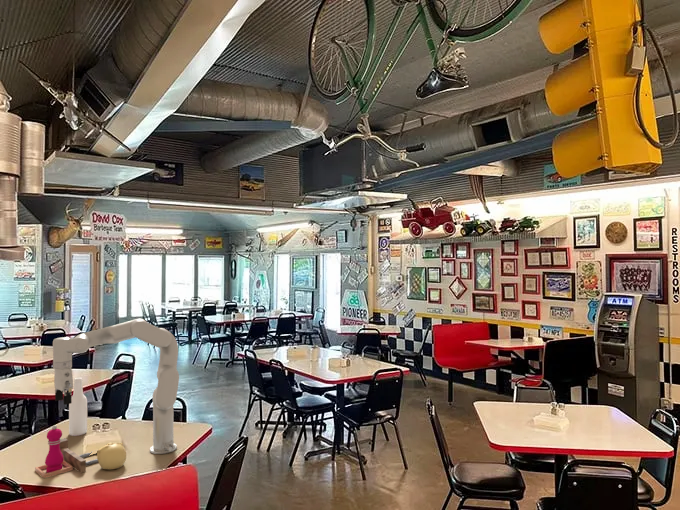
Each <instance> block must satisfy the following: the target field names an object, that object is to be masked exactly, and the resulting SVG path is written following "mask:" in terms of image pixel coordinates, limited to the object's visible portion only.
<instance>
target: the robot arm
mask: <svg viewBox="0 0 680 510" xmlns="http://www.w3.org/2000/svg"><path fill="white" fill-rule="evenodd" d="M134 338H136V339H138V340H139V341H140V340H141V341H142V342H144V343H147V344H149V345H151V346H153V347H155V348H159V359H158V360H159V361H158V367H157V372H156V378H157V386H156V388H154V390H153V393H152V414H153V415H152V435H153V436H152V437H153V438H152V446H150V448H149V453H151V454H153V455H154V454H155V455H164V454H168V453H169V454H170V453H171V452H174V451H176V450H177V448H178V446H177V444H176V443H175V441H174V417H175V415H174V405H175V403H176V400H177V395H178V390H179V383H180V382H179V381H180V374H179V371H178V370H177V369H178V368H177V367H178V357H179V345H178V342H177V339H176V337H175V336H174V334H172V332H171V331H169V330H168V329H166V328H164V327H157V326H155V325H153V324H151V323H150V322H148V321H147V320H145V319H143V318H135V319H132V320H129V321H124V322H121V323H117V324H114V325H110V326H105V327H103V328H99V329H94V330H91V331H87V332H83V333H80V334H78V335H77V334H76V335H75V336H74V337H73V338H71V337H67V336H64V337H63V336H62V337H57V338H54V339H53V341H52V361H53V362H52V369H53V370H54V376H53V377H54V380H53V382H54V395H55V396H54V399H55V402H57V401H62V400H63V402H62V403H63V405H64V406H66V405H69V404H71V403H72V401H71V397H72V396H73V395H72V391H73V390H74V377H73V369H72V368H73V356H72V355H73V354H83V353H85V352H88V350H89V348H92V347H95V346H99V345H106V344H110V345H111V344H112V345H113V344H119V343H122V342H123V341H128V340H131V339H134Z"/></svg>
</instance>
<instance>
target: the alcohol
mask: <svg viewBox="0 0 680 510" xmlns="http://www.w3.org/2000/svg"><path fill="white" fill-rule="evenodd" d="M83 389H84V388H83V377H79V376H78V377H75V378H73V395H71V401H72V403H71V404H68V434H69V436H72V437H76V436H77V437H78V436H82V435H85V434H87V432H88V399H87V396H86V395H85V394H84V390H83Z"/></svg>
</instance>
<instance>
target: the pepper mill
mask: <svg viewBox="0 0 680 510" xmlns="http://www.w3.org/2000/svg"><path fill="white" fill-rule="evenodd" d="M62 436H63V431H62V430H61V429H60V428H58V427H57V425H53V426H52V429H50V430H49V431H48V432H47V434H46V438H47V445H48V449H49V450H48V453H47V454H46V457H45V460H44V465H47V466H48V467H47V468H46V470H45V471H46V473H50V472H53V471H57V470H60V469H63V464H61V463H62V462H63V460H64V458H63V454H62V452H61V450H60V442H61V439H62Z"/></svg>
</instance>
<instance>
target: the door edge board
mask: <svg viewBox="0 0 680 510" xmlns="http://www.w3.org/2000/svg"><path fill="white" fill-rule="evenodd" d="M60 439H61V442H60V450H61V452H62V454H63V458H64V461H66V462H67V463H69V464H70V465H71V466H73V469H75V470H76V471H78V472H79V473H80V474H82V473H85V472H86V471H87V470H86V469H87V468H86V467H87V466H86V462H87V460H86V459H85V458H82V457H80V456H79V455H80V454H77V453H76V452H74V451H73V450H71V449H69V439H67V438H65V437H63V438H60Z"/></svg>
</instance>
